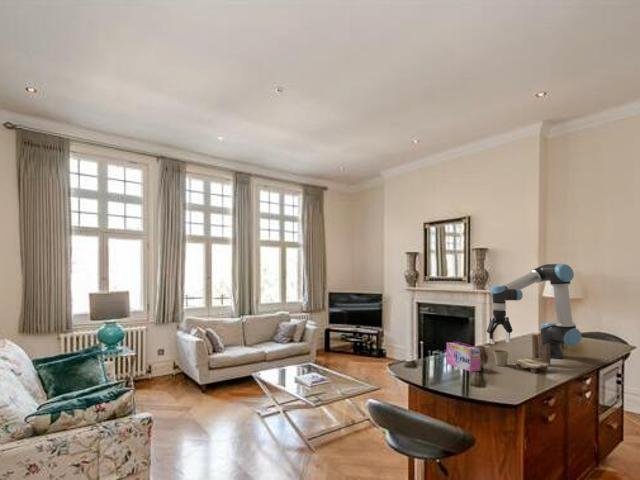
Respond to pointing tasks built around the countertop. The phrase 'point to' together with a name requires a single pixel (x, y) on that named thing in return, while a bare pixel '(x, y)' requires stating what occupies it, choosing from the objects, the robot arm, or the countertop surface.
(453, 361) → the gum box
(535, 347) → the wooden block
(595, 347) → the countertop surface
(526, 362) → the plant stand
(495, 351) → the flower pot
